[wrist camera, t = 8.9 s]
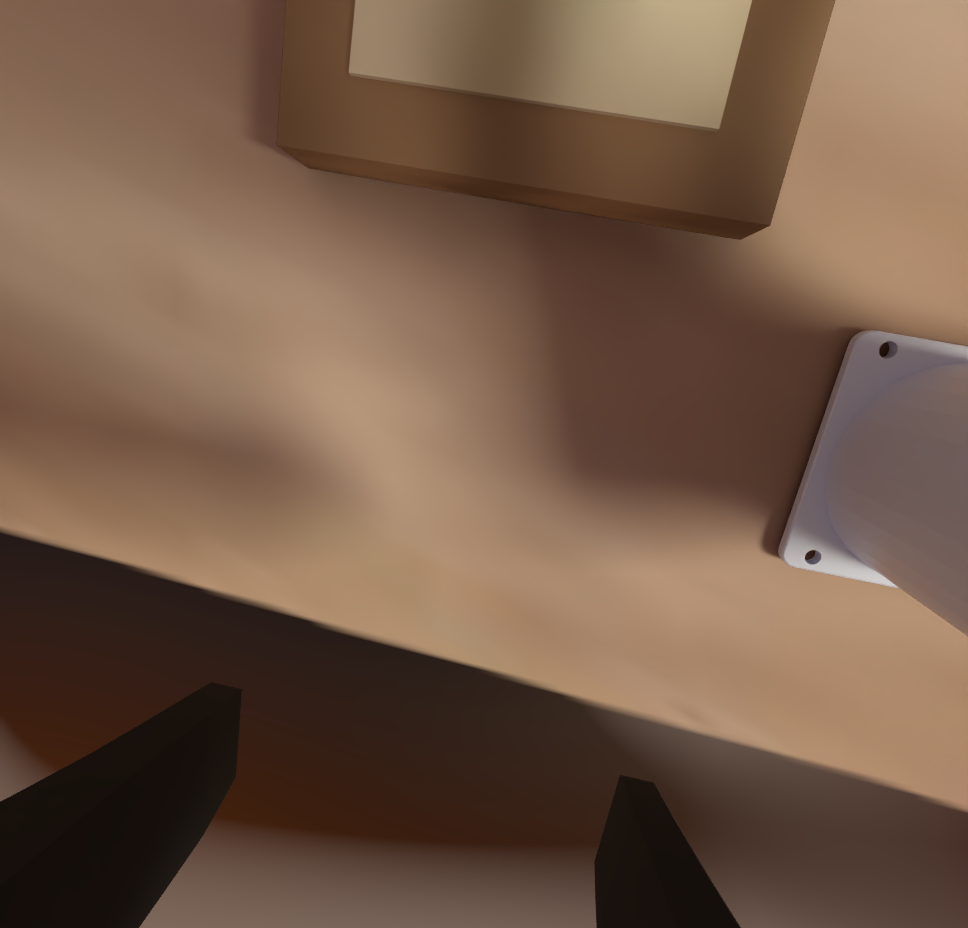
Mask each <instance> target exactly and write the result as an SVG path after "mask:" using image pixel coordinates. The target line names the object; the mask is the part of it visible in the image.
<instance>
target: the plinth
mask: <svg viewBox="0 0 968 928" xmlns="http://www.w3.org/2000/svg"><path fill="white" fill-rule="evenodd" d="M834 3H835V0H286V9H285V24H284V40H283V55H282V70H281V85H280V100H279V115H278V131H277V146H279V147H280V148H282V149H283V150H284V151H286V152H287V153H289V154H290V155H291V156H293V157H294V158H296V159H297V160H298V161H300V162H301V163H303V164H304V165H305V166H307V167H308V168H311V169H317V170H323V171H329V172H335V173H341V174H347V175H353V176H359V177H365V178H371V179H377V180H383V181H389V182H395V183H401V184H407V185H413V186H419V187H425V188H432V189H438V190H444V191H450V192H456V193H462V194H468V195H474V196H480V197H486V198H492V199H498V200H504V201H510V202H516V203H522V204H528V205H534V206H540V207H546V208H552V209H558V210H564V211H571V212H577V213H583V214H589V215H595V216H601V217H607V218H613V219H619V220H625V221H631V222H637V223H643V224H649V225H655V226H661V227H667V228H673V229H679V230H685V231H691V232H697V233H703V234H710V235H716V236H722V237H728V238H734V239H740V240H741V239H743V238H745V237H747V236H749V235H751V234H753V233H755V232H758V231H760V230H762V229H764V228H766V227H768V226H770V224H771V221H772V217H773V214H774V210H775V207H776V203H777V200H778V196H779V193H780V190H781V186H782V183H783V179H784V176H785V172H786V169H787V165H788V162H789V159H790V155H791V152H792V148H793V145H794V141H795V138H796V134H797V131H798V127H799V124H800V121H801V117H802V114H803V110H804V107H805V103H806V100H807V96H808V93H809V90H810V86H811V83H812V79H813V76H814V72H815V69H816V65H817V62H818V58H819V55H820V52H821V48H822V45H823V41H824V38H825V34H826V31H827V27H828V24H829V21H830V17H831V14H832V10H833V7H834Z"/></svg>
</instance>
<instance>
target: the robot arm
mask: <svg viewBox="0 0 968 928" xmlns="http://www.w3.org/2000/svg"><path fill="white" fill-rule="evenodd" d="M885 342H887V343H888V345H889V352H888V354H887V355H886V356H884V357H881V356H880V354H879V348H880V347H881V345H882V344H883V343H885ZM811 550H816V551H815V555H814V557H813V558H811V559H809V560H805V555H806V554H807V552H809V551H811ZM778 554H779V556H780V558H781V559H782V560H783V561H784V562H785V563H786V564H787V565H789V566H792V567H795V568H800V569H805V570H810V571H815V572H820V573H825V574H830V575H835V576H840V577H845V578H850V579H855V580H860V581H865V582H869V583H874V584H879V585H884V586H889V587H894V588H899V589H902V590H903V591H905V592H906V593H907V594H909V595H910V596H912V597H913V598H915V599H916V600H917V601H919V602H920V603H922V604H923V605H924V606H926V607H927V608H929V609H930V610H931V611H933V612H934V613H936V614H937V615H939V616H940V617H941V618H943V619H944V620H946V621H947V622H948V623H950V624H951V625H953V626H954V627H955V628H957V629H958V630H960V631H961V632H963V633H964V634H965V635H967V636H968V346H963V345H957V344H952V343H946V342H940V341H934V340H929V339H923V338H917V337H911V336H905V335H900V334H894V333H888V332H882V331H877V330H876V331H862V332H859V333H857V334H856V335H855V336H854V337H853V338H852V339H851V341H850V342H849V344H848V347H847V350H846V353H845V356H844V359H843V362H842V365H841V368H840V371H839V373H838V376H837V379H836V382H835V385H834V388H833V391H832V394H831V397H830V400H829V403H828V405H827V408H826V411H825V414H824V417H823V420H822V423H821V426H820V429H819V432H818V435H817V438H816V440H815V443H814V446H813V449H812V452H811V455H810V458H809V461H808V464H807V467H806V470H805V472H804V475H803V478H802V481H801V484H800V487H799V490H798V493H797V496H796V499H795V502H794V505H793V507H792V510H791V513H790V516H789V519H788V522H787V525H786V528H785V531H784V534H783V537H782V539H781V542H780V545H779V550H778ZM241 692H242V689H238V688H234V687H229V686H225V685H221V684H216V683H212V682H211V683H209V684H208V685H206V686H204V687H202V688H201V689H199V690H197V691H195V692H194V693H192V694H190V695H189V696H187V697H185V698H184V699H182V700H180V701H179V702H177V703H175V704H174V705H172V706H170V707H169V708H167V709H166V710H164V711H162V712H160V713H159V714H157V715H155V716H154V717H152V718H150V719H149V720H147V721H145V722H144V723H142V724H140V725H139V726H137V727H135V728H133V729H132V730H130V731H128V732H127V733H125V734H123V735H121V736H120V737H118V738H116V739H115V740H113V741H111V742H109V743H108V744H106V745H104V746H103V747H101V748H99V749H97V750H96V751H94V752H92V753H90V754H89V755H87V756H85V757H83V758H81V759H80V760H78V761H76V762H74V763H72V764H70V765H68V766H66V767H65V768H63V769H61V770H59V771H57V772H55V773H54V774H52V775H50V776H48V777H46V778H44V779H42V780H40V781H39V782H37V783H35V784H33V785H31V786H29V787H28V788H26V789H24V790H22V791H20V792H18V793H16V794H14V795H13V796H11V797H9V798H7V799H5V800H3V801H1V802H0V928H139V927H140V925H141V924H142V923H143V921H144V920H145V918H146V917H147V915H148V914H149V913H150V911H151V910H152V908H153V907H154V905H155V904H156V903H157V901H158V900H159V898H160V897H161V895H162V894H163V893H164V891H165V890H166V888H167V887H168V885H169V884H170V883H171V881H172V880H173V878H174V877H175V875H176V874H177V873H178V871H179V870H180V868H181V867H182V865H183V864H184V862H185V861H186V859H187V858H188V857H189V855H190V854H191V852H192V851H193V849H194V848H195V846H196V845H197V844H198V842H199V841H200V839H201V837H202V836H203V835H204V833H205V831H206V829H207V828H208V826H209V824H210V822H211V821H212V819H213V817H214V815H215V814H216V812H217V810H218V808H219V807H220V805H221V803H222V801H223V799H224V797H225V796H226V794H227V792H228V790H229V788H230V786H231V785H232V783H233V781H234V779H235V777H236V765H237V751H238V736H239V722H240V706H241ZM595 895H596V896H595V899H596V920H597V921H596V922H597V928H741V927H740V926H739V924H738V923H737V921H736V919H735V918H734V916H733V915H732V913H731V911H730V910H729V908H728V907H727V905H726V903H725V902H724V900H723V899H722V897H721V895H720V894H719V892H718V891H717V889H716V887H715V886H714V884H713V883H712V881H711V879H710V878H709V876H708V874H707V873H706V871H705V869H704V868H703V866H702V864H701V863H700V861H699V859H698V858H697V856H696V854H695V853H694V851H693V849H692V847H691V846H690V844H689V842H688V841H687V839H686V837H685V836H684V834H683V832H682V830H681V829H680V827H679V825H678V823H677V822H676V820H675V818H674V817H673V815H672V813H671V811H670V809H669V808H668V806H667V804H666V803H665V801H664V799H663V797H662V796H661V794H660V792H659V791H658V789H657V787H656V786H655V784H654V783H653V782H649V781H644V780H640V779H636V778H631V777H627V776H622V775H620V777H619V780H618V784H617V787H616V790H615V794H614V797H613V800H612V804H611V808H610V811H609V814H608V818H607V821H606V824H605V828H604V831H603V835H602V838H601V841H600V845H599V848H598V851H597V855H596V858H595Z"/></svg>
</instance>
